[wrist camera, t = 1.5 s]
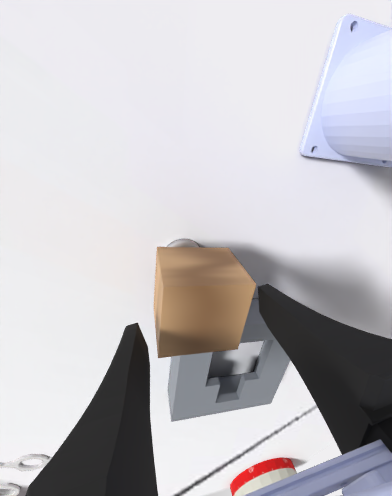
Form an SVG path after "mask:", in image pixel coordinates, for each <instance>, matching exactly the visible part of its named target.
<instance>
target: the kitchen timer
mask: <svg viewBox="0 0 392 496" xmlns="http://www.w3.org/2000/svg"><path fill="white" fill-rule="evenodd" d="M294 474H297V473H296V470H295V468H294V466H293V464H292V461H291V460H290V459H288V458H274V459H270V460H267V461H263V462H261V463H258V464H256V465H254V466H252V467H250V468H248V469H246V470H245V471H243V472H242V473H241V474H239V475H238V476H237V477H236V478H235V479H234V480H233V481H232V483H231V485H230V489H231V492H232V496H243V495H246V494H248V493H251V492H253V491H256V490H258V489H260V488H263V487H265V486H268V485H270V484H273V483H275V482H277V481H280V480H282V479H285V478H287V477H290V476H292V475H294Z"/></svg>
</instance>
